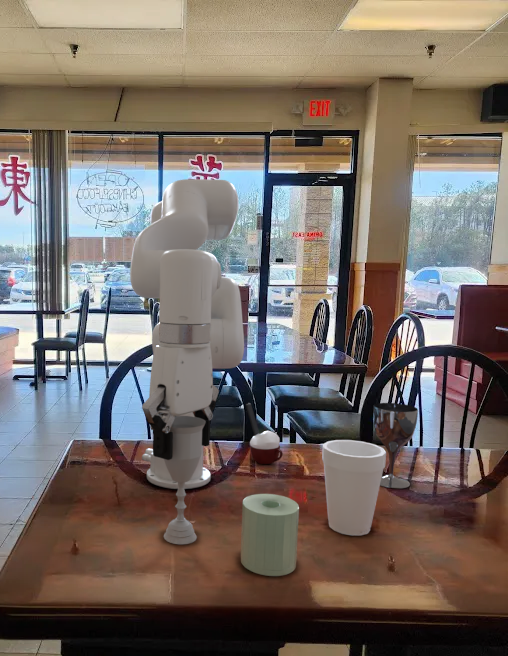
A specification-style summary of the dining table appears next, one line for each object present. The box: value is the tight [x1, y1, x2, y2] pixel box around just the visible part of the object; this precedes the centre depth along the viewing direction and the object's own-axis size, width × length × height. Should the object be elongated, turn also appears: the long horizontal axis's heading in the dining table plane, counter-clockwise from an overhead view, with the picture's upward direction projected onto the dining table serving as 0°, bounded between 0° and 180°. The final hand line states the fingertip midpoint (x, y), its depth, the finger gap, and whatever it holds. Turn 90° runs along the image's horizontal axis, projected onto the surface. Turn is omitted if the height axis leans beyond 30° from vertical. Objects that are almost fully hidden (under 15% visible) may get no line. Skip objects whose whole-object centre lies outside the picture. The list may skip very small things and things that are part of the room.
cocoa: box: [245, 402, 283, 465], centre depth 123 cm, size 10×6×12 cm, turn 16°
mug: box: [240, 493, 300, 577], centre depth 81 cm, size 10×8×8 cm
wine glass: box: [372, 402, 419, 489], centre depth 112 cm, size 8×8×15 cm
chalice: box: [162, 416, 206, 545], centre depth 86 cm, size 7×7×18 cm
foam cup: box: [321, 439, 387, 536], centre depth 91 cm, size 10×9×13 cm
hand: (182, 450), depth 85 cm, fingers open, 8 cm apart
